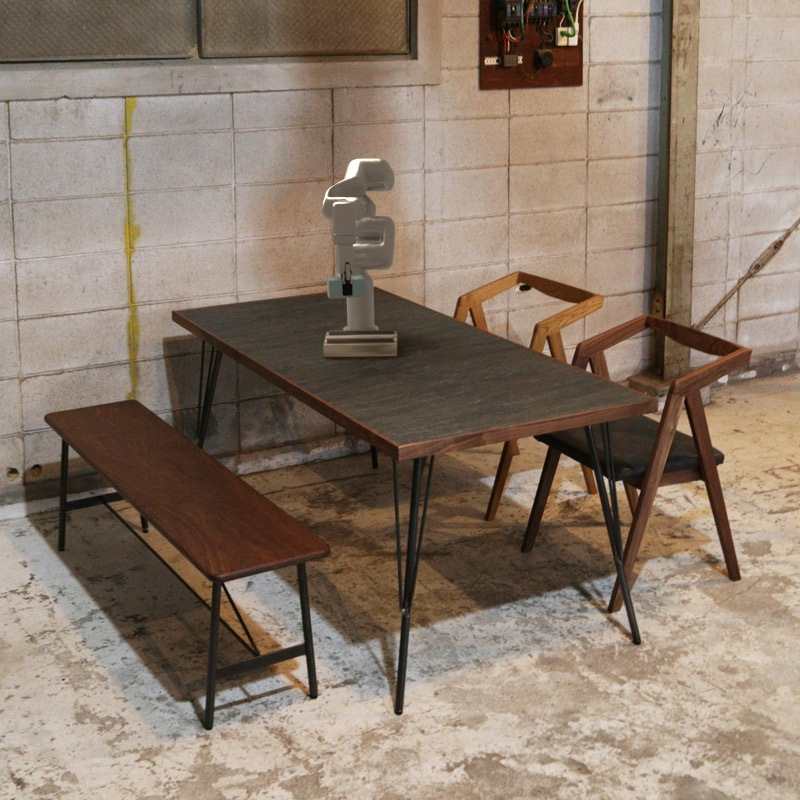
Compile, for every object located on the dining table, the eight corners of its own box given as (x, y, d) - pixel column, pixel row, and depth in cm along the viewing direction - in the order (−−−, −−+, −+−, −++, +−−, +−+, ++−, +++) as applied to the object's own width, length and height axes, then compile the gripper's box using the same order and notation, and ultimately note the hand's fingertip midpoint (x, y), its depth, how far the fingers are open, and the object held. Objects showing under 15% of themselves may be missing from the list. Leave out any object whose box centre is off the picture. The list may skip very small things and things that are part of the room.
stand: (327, 343, 441) (326, 328, 439) (397, 342, 440) (397, 327, 439) (323, 357, 423) (323, 341, 422) (396, 355, 423) (396, 340, 422)
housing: (363, 293, 430) (362, 275, 429) (365, 296, 425) (365, 279, 423) (327, 295, 429) (326, 277, 427) (329, 298, 423) (328, 280, 421)
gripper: (330, 235, 429) (332, 288, 434) (336, 244, 413) (338, 299, 418) (353, 234, 430) (354, 287, 435) (359, 243, 414) (361, 298, 419)
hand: (346, 292), depth 426 cm, fingers closed on housing, 6 cm apart
